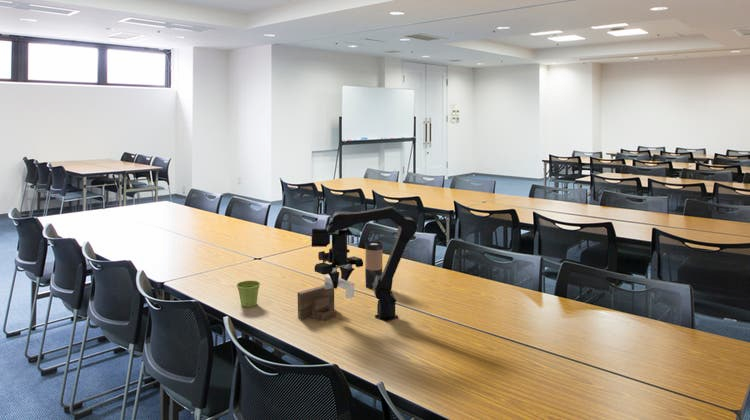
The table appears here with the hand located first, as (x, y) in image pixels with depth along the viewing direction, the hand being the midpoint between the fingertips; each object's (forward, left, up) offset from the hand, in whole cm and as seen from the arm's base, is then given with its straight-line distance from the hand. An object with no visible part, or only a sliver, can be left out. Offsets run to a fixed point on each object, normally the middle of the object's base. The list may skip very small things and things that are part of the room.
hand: (339, 287), depth 192 cm
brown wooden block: (+7, +3, -12) cm, 14 cm away
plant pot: (+36, +17, -13) cm, 42 cm away
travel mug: (+19, -36, -12) cm, 43 cm away
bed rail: (0, 0, -2) cm, 2 cm away
